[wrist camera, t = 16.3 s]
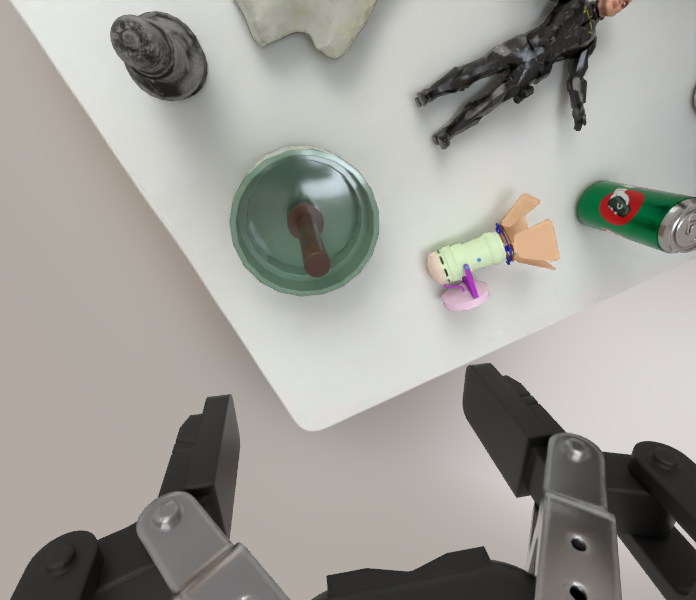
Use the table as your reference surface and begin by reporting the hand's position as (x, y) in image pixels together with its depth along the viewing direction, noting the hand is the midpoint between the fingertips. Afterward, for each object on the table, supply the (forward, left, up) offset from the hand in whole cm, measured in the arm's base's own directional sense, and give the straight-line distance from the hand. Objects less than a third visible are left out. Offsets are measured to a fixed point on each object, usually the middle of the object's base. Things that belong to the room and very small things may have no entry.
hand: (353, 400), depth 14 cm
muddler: (0, 0, -29) cm, 29 cm away
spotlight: (+5, +19, -30) cm, 36 cm away
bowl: (0, 0, -30) cm, 30 cm away
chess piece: (-13, -10, -30) cm, 34 cm away
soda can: (+1, +33, -30) cm, 45 cm away
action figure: (-13, +21, -30) cm, 39 cm away
